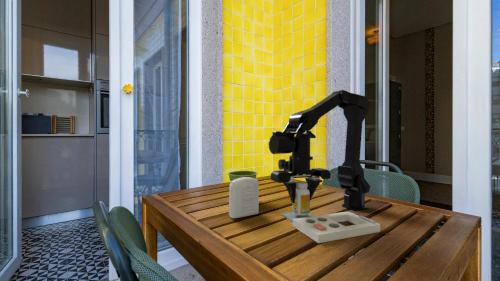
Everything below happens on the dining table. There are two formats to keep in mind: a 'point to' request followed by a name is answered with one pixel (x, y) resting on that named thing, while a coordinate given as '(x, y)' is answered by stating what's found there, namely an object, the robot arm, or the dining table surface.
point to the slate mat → (295, 216)
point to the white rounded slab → (243, 197)
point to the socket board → (335, 226)
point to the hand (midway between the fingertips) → (300, 202)
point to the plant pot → (242, 174)
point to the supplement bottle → (301, 199)
